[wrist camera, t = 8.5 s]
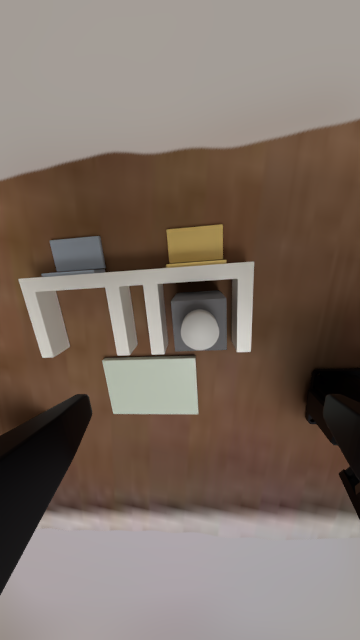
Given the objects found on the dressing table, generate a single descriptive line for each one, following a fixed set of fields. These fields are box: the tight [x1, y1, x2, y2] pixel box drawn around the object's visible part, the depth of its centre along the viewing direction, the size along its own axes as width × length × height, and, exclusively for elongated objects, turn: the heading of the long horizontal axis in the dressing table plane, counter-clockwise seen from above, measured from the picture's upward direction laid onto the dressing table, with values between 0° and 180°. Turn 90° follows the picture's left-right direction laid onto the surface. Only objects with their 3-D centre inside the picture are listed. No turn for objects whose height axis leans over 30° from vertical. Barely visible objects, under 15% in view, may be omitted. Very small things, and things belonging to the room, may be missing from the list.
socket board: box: [19, 224, 254, 358], centre depth 17 cm, size 20×11×2 cm, turn 94°
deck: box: [102, 356, 198, 414], centre depth 21 cm, size 10×7×1 cm
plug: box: [171, 290, 227, 351], centre depth 16 cm, size 4×4×6 cm
